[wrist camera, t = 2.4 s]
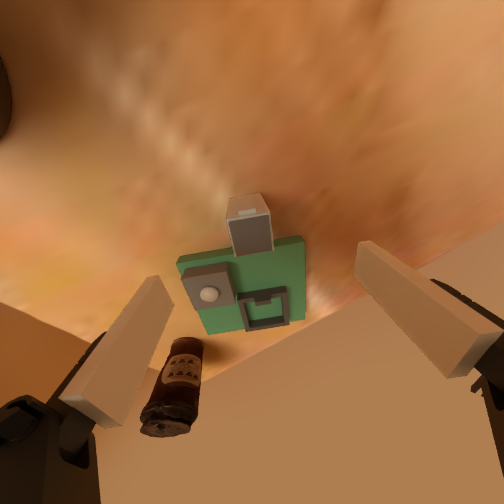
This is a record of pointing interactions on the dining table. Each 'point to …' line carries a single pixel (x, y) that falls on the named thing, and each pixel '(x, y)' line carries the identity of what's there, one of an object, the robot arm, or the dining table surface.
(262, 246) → the plug
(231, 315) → the board
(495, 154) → the dining table surface
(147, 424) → the coffee cup
